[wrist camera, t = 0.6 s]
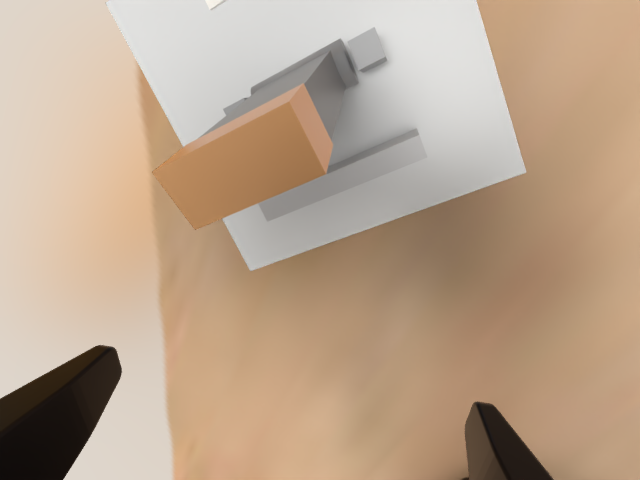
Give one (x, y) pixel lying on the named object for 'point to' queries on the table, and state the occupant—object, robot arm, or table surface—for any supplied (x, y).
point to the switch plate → (356, 108)
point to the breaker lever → (263, 141)
